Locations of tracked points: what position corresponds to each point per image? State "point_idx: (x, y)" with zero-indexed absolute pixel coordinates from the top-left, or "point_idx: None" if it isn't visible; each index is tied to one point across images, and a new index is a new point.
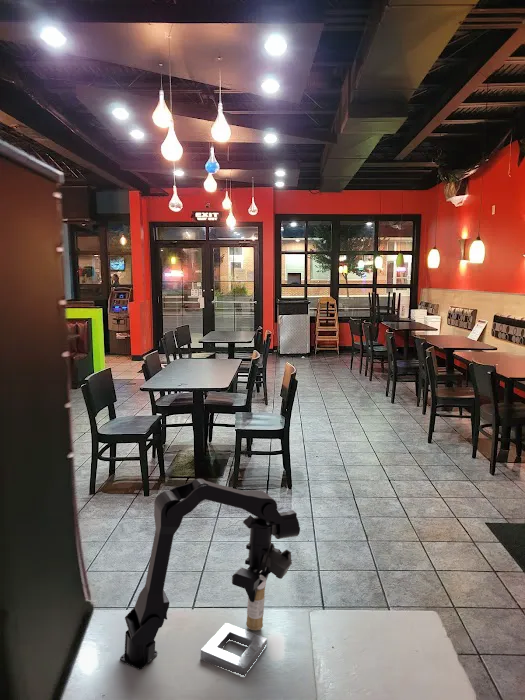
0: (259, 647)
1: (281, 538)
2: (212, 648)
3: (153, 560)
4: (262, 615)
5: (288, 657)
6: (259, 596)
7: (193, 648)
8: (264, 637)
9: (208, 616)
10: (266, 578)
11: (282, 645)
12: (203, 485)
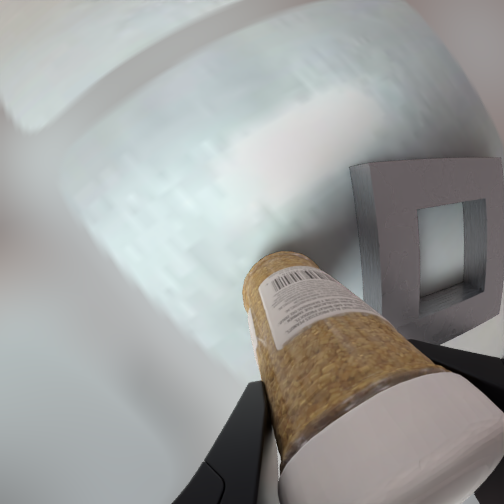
0: (428, 161)
1: None
2: (491, 294)
3: None
4: (296, 267)
5: (330, 69)
6: (402, 339)
7: (457, 348)
8: (371, 177)
9: None
10: (226, 492)
11: (289, 118)
12: None
